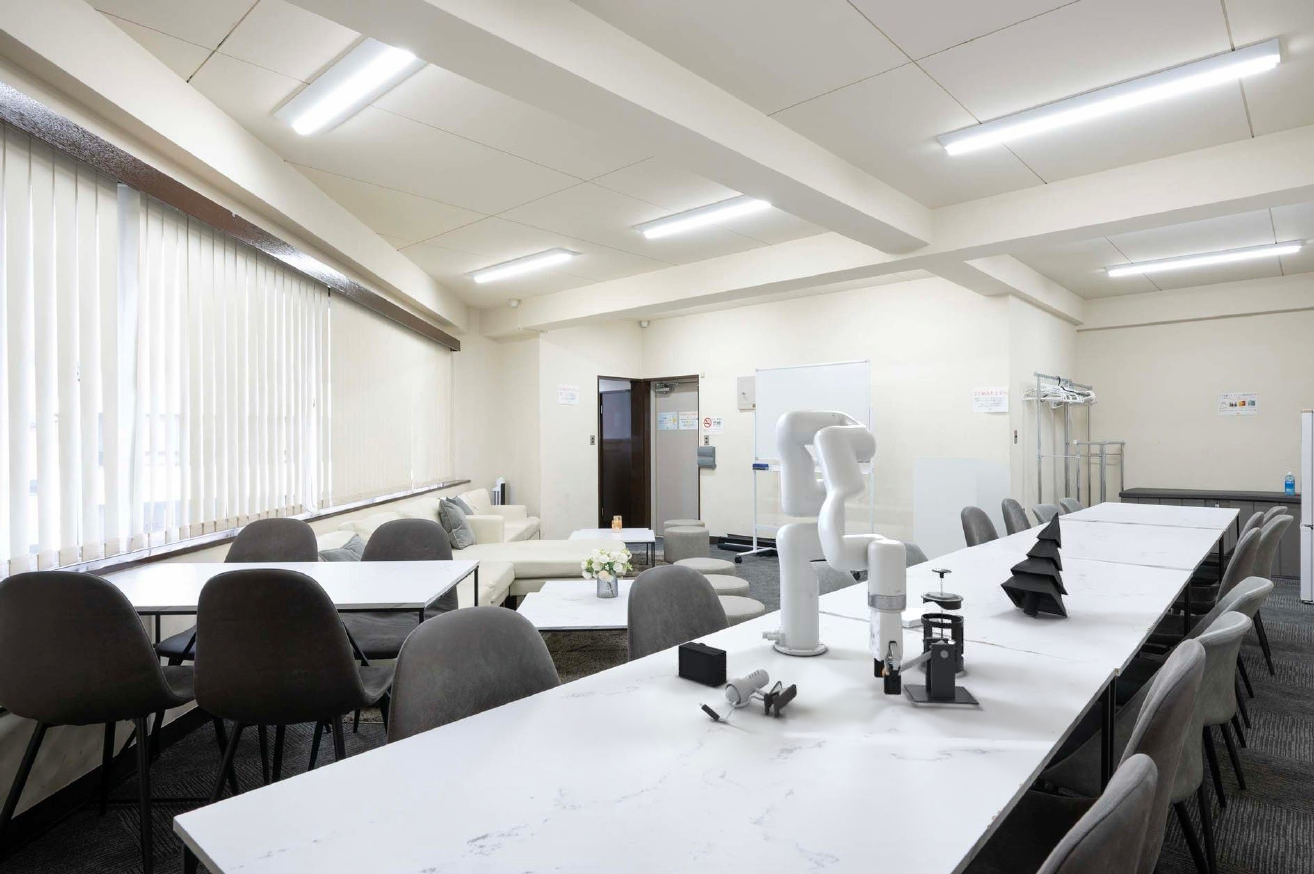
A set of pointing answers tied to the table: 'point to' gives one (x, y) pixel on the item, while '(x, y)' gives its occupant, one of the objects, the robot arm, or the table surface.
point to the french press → (957, 621)
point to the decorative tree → (1039, 576)
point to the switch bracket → (940, 676)
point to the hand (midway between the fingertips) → (887, 685)
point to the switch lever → (914, 661)
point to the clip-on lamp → (750, 684)
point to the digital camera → (702, 663)
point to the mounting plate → (913, 617)
